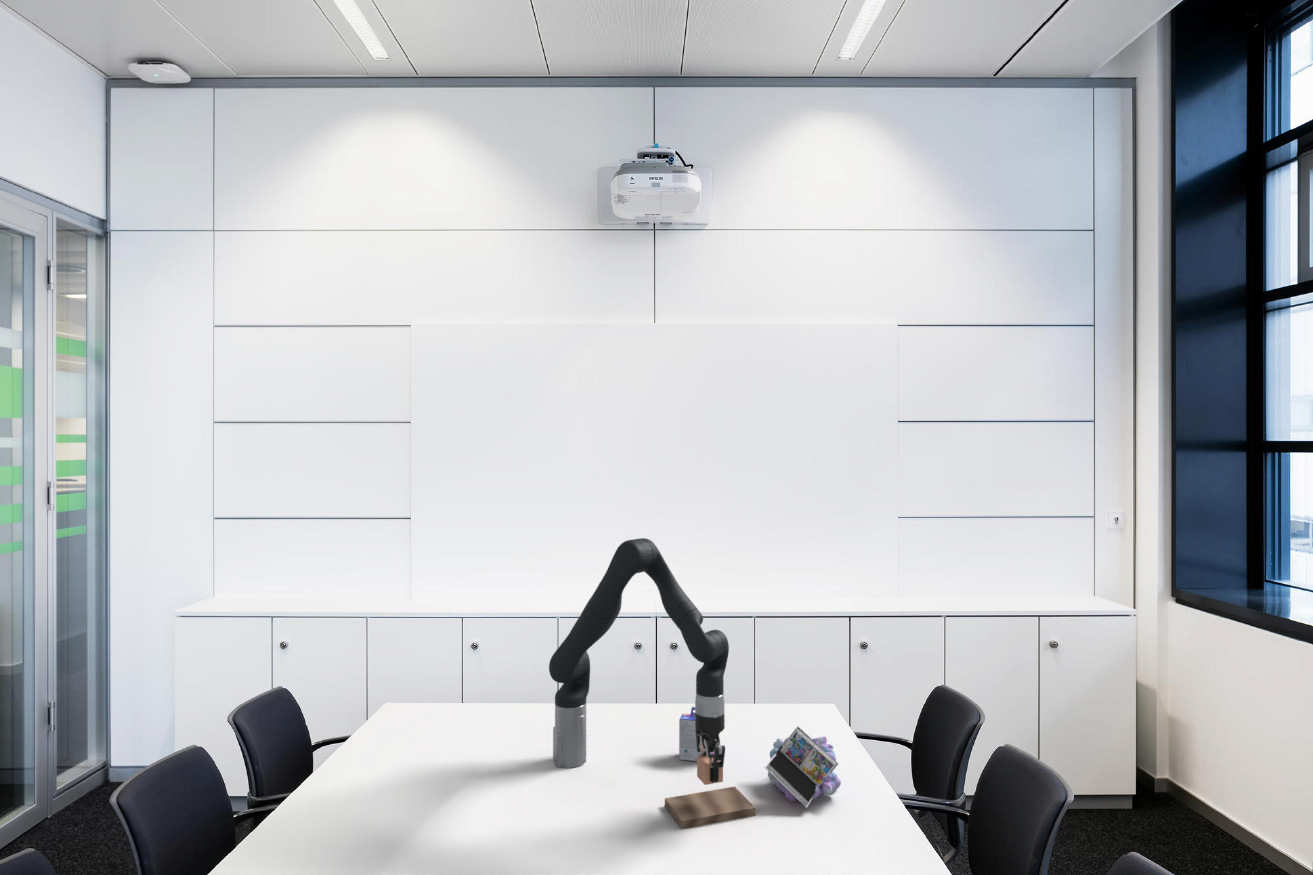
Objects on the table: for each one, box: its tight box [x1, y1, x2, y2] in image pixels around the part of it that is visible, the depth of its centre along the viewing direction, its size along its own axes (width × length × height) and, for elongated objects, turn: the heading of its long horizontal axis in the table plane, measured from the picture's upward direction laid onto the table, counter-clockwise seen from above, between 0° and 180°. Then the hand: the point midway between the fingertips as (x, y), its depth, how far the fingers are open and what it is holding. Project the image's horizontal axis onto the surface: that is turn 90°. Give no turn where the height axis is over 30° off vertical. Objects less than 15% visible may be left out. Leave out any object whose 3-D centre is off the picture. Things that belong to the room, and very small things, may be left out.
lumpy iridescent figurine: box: [764, 726, 842, 808], centre depth 201 cm, size 20×22×18 cm
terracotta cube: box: [696, 756, 724, 786], centre depth 190 cm, size 5×5×5 cm
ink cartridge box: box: [678, 706, 714, 762], centre depth 222 cm, size 10×6×14 cm, turn 78°
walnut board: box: [664, 786, 756, 830], centre depth 190 cm, size 20×12×2 cm, turn 110°
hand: (709, 776), depth 190 cm, fingers closed on terracotta cube, 5 cm apart
